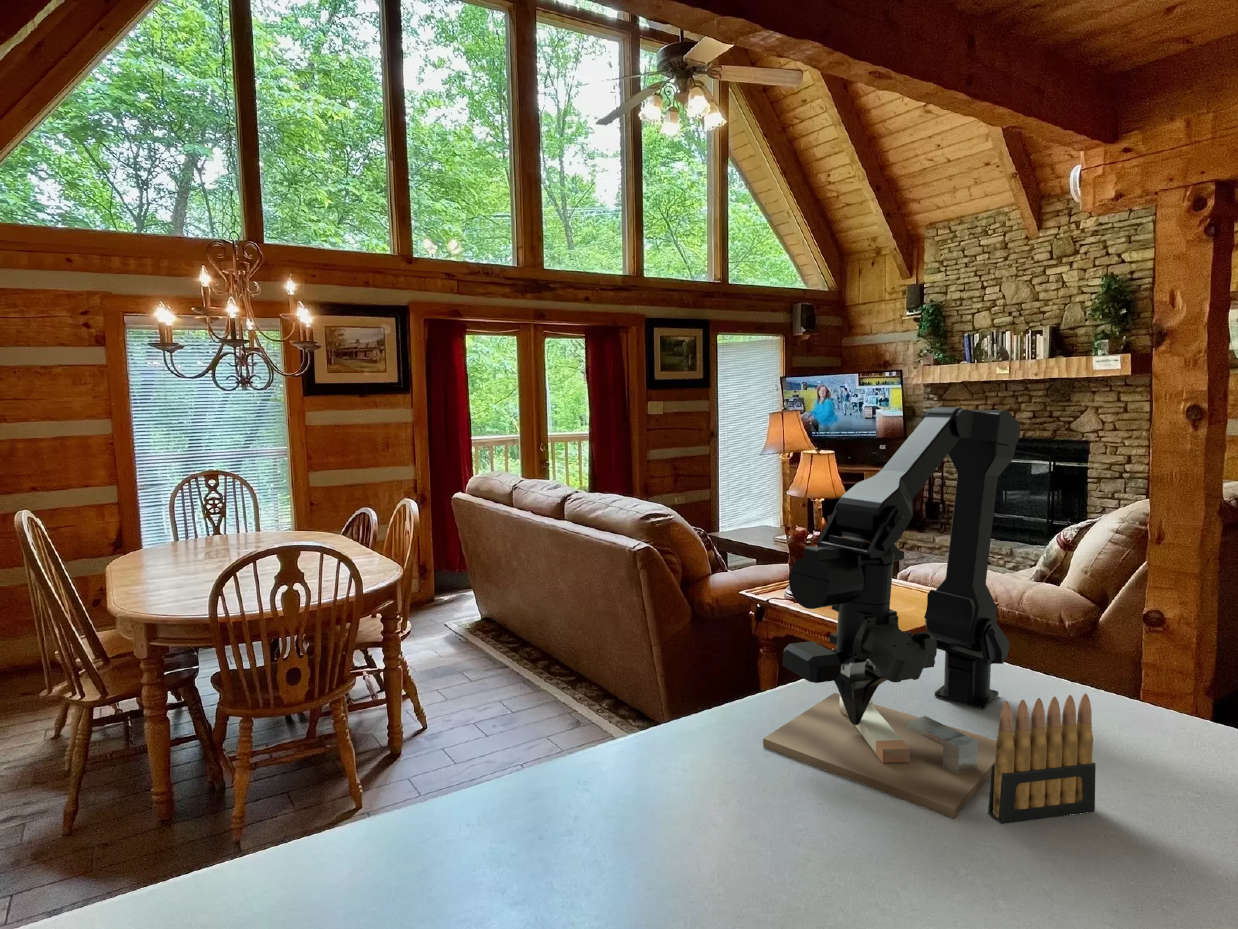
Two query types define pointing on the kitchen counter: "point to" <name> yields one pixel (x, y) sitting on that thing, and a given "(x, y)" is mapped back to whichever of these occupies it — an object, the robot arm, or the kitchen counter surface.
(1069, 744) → the ammunition clip
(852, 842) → the kitchen counter surface
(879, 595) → the robot arm
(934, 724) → the block
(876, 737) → the bar
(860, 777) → the base plate
